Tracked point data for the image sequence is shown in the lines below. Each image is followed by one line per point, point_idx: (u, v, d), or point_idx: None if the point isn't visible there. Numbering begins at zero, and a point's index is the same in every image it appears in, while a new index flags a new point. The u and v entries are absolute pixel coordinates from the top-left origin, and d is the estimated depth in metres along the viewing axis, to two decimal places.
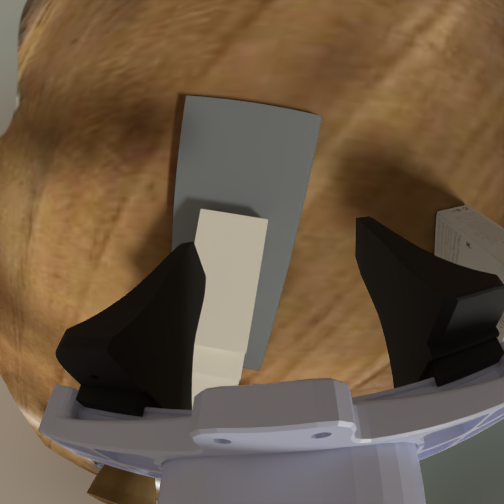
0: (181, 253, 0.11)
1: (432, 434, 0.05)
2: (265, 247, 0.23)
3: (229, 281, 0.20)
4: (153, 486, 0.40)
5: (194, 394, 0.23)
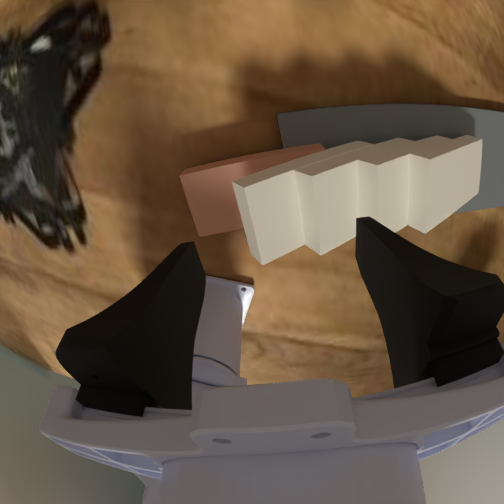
0: (181, 253, 0.11)
1: (432, 434, 0.05)
2: None
3: (460, 185, 0.16)
4: None
5: (316, 196, 0.15)
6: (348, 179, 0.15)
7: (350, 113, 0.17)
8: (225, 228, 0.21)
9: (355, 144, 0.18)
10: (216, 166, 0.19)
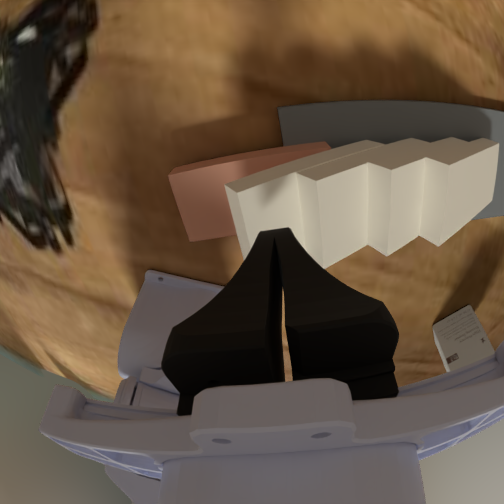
0: (270, 240, 0.11)
1: (432, 434, 0.05)
2: None
3: (476, 192, 0.14)
4: None
5: (321, 204, 0.13)
6: (357, 184, 0.13)
7: (359, 109, 0.15)
8: (218, 233, 0.19)
9: (364, 144, 0.16)
10: (208, 165, 0.17)
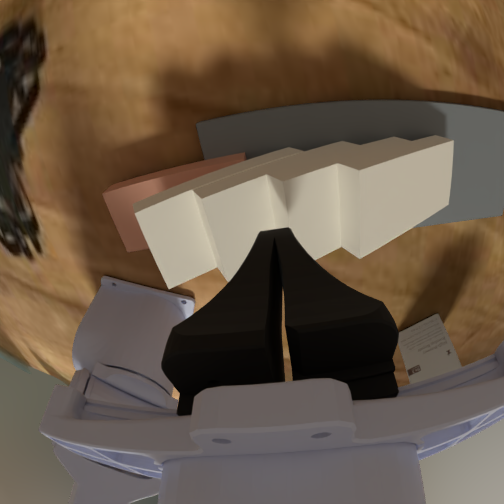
0: (270, 240, 0.11)
1: (432, 434, 0.05)
2: None
3: (417, 197, 0.15)
4: None
5: (211, 220, 0.13)
6: (255, 197, 0.14)
7: (279, 116, 0.16)
8: None
9: (282, 152, 0.16)
10: (134, 183, 0.17)
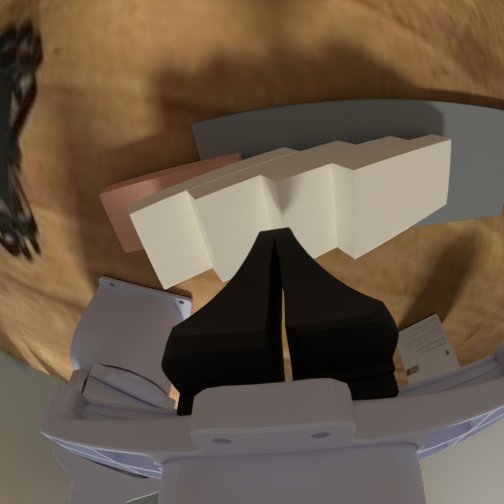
0: (270, 240, 0.11)
1: (432, 434, 0.05)
2: None
3: (414, 197, 0.15)
4: None
5: (205, 221, 0.13)
6: (249, 198, 0.14)
7: (274, 116, 0.16)
8: None
9: (277, 152, 0.16)
10: (130, 184, 0.17)
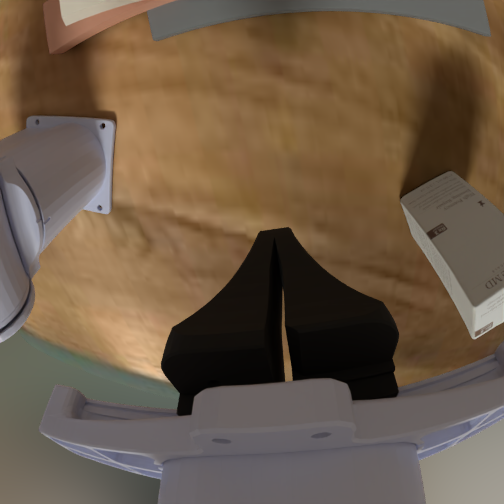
0: (270, 240, 0.11)
1: (432, 434, 0.05)
2: None
3: None
4: None
5: None
6: None
7: None
8: (71, 36, 0.11)
9: None
10: None
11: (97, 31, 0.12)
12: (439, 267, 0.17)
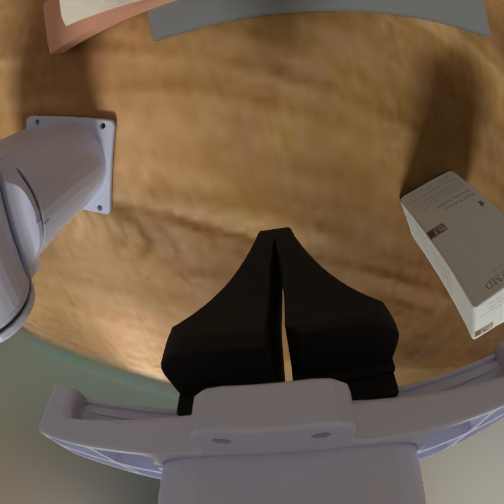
0: (270, 240, 0.11)
1: (432, 434, 0.05)
2: None
3: None
4: None
5: None
6: None
7: None
8: (71, 36, 0.11)
9: None
10: None
11: (97, 31, 0.12)
12: (439, 267, 0.17)
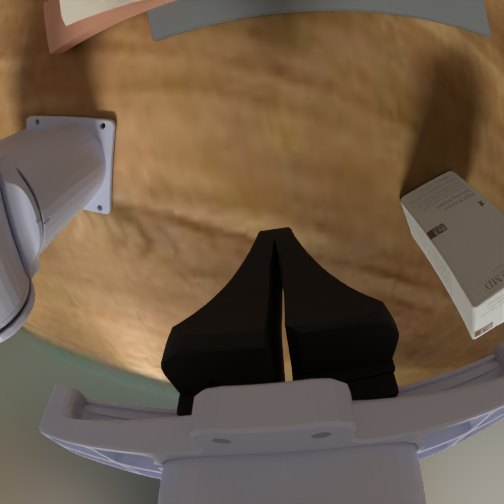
0: (270, 240, 0.11)
1: (432, 434, 0.05)
2: None
3: None
4: None
5: None
6: None
7: None
8: (71, 36, 0.11)
9: None
10: None
11: (97, 31, 0.12)
12: (439, 267, 0.17)
